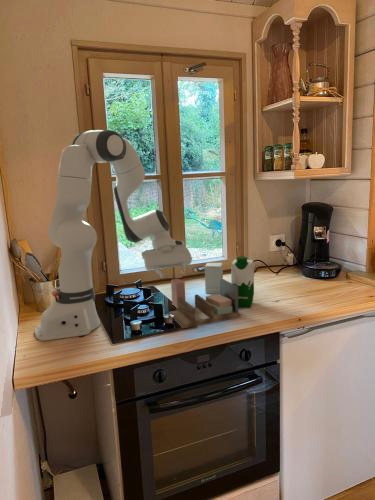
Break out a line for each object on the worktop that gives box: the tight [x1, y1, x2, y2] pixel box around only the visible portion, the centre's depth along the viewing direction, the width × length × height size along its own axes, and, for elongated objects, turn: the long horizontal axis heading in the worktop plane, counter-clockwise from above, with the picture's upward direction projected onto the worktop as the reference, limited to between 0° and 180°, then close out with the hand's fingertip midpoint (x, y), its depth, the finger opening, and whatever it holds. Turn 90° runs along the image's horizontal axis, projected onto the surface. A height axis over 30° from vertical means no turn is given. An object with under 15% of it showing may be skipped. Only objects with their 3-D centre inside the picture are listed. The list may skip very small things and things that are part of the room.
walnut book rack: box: [168, 294, 241, 329], centre depth 142 cm, size 23×14×6 cm, turn 113°
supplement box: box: [204, 262, 224, 295], centre depth 171 cm, size 7×7×13 cm
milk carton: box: [230, 256, 255, 309], centre depth 151 cm, size 9×9×20 cm
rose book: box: [170, 278, 186, 310], centre depth 152 cm, size 4×6×11 cm, turn 23°
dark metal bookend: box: [219, 279, 239, 313], centre depth 145 cm, size 1×12×10 cm, turn 22°
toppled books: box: [205, 294, 232, 315], centre depth 144 cm, size 7×10×4 cm, turn 23°
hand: (173, 275), depth 156 cm, fingers open, 8 cm apart
